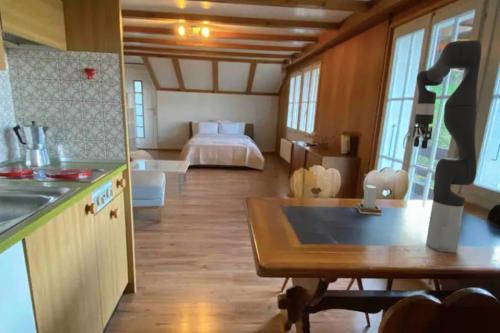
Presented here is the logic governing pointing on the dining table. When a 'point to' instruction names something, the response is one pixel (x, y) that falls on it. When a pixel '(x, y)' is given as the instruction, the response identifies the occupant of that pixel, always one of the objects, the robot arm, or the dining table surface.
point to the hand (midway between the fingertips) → (419, 147)
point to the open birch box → (368, 211)
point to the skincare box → (370, 197)
